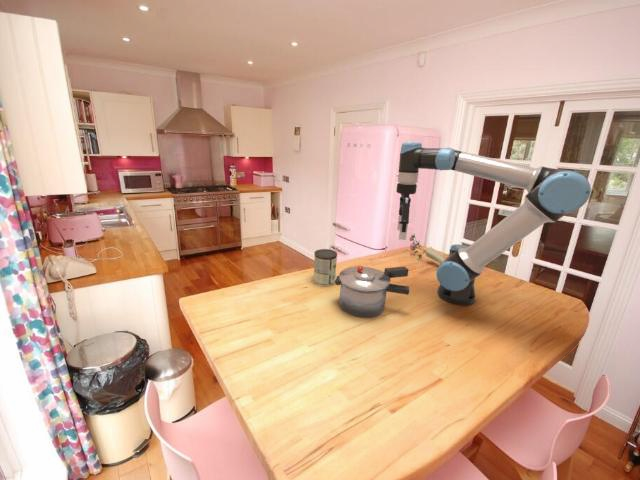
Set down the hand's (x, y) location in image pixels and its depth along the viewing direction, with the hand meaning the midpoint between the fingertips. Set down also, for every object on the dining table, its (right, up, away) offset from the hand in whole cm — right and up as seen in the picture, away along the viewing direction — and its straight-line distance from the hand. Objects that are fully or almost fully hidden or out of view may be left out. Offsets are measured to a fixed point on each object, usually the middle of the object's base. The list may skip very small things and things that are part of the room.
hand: (401, 234), depth 124 cm
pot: (-14, -29, -5) cm, 33 cm away
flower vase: (+27, -15, +41) cm, 51 cm away
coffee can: (-32, -22, +14) cm, 41 cm away
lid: (-13, -18, -7) cm, 23 cm away
